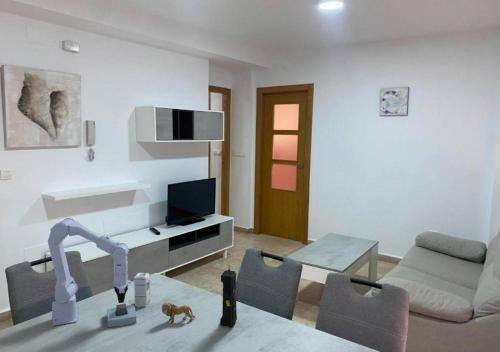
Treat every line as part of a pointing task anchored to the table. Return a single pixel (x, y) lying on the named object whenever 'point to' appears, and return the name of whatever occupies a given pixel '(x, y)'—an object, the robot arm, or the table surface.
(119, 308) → the plug
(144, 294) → the syrup box
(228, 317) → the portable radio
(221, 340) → the table surface
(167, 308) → the lion figurine
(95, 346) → the table surface
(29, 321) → the table surface
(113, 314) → the socket plate
